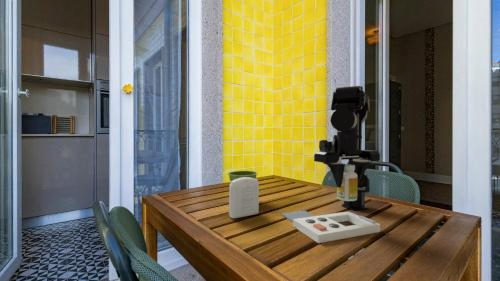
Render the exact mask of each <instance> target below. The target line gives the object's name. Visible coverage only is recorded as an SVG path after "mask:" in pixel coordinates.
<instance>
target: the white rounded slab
mask: <svg viewBox="0 0 500 281" xmlns="http://www.w3.org/2000/svg"><path fill="white" fill-rule="evenodd" d="M259 184H260V183H259V180H258V179H257V178H256V179H254V178H250V177H242V178H238V179H235V180H233V181H230V182H229V185H228V192H229V194H228V216H229V218H231V219H238V218H244V217H248V216H253V215H258V214H259V211H260V210H259V209H260V208H259V207H260V205H259V203H260V202H259V198H260V197H259V196H260V195H259V193H260V192H259V190H260V186H259Z"/></svg>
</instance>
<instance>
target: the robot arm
mask: <svg viewBox="0 0 500 281" xmlns="http://www.w3.org/2000/svg"><path fill="white" fill-rule="evenodd" d="M363 87H364V86H362V85H354V86H342V87H341V86H340V87H336V88H335V91H333V93H332V98H331V107H330V111H332V112H333V111H334V112H333V113H332V114H331V116H330V124H331V126H332V128H333V129H335V131H336V134H334V135H333V138H332V141H328V140H327V139H321V140H319V142H318V144H319V145H318V148H319V150H317V151H316V152H315V153H314V155H313V162H317V163H322V164H323V165H326V166H327V167H328V168H329V170H330V172H331V174H332V176H333V179H334V182H335V185H336V188H337V187H339V188H340V187H341V184H342V180H343V174H344V168H345V164H351V165H355V170H354V172H355V173H356V174H357V177H358V184H357V200H356V201H343V203H341V206H342V207H344V208H347V209H350V210H353V211H361V210H367V209H368V208H369V206H366V205H365V201H366V200H365V198H366V197H365V195H366V194H367V193H370V190H371V189H370V187H371V186H370V184H371V183H370V178H369V176H368V175H367V173H366V171H367V169H368V168H369V166H370V165H372V164H373V162H377V161H378V162H379V161H381V153H380V152H379V151H378V150H373V149H372V150H371V149H370V150H369V149H363V148H362V147H363V146H362V142H363V124H364V122H365V121H366V120H367V118H368V113H370V96H369V95H368V94H367V93H366V92H365V91H364V88H363ZM342 160H344V161H345V160H348V162H347V163H343V162H342ZM369 160H370V161H369ZM365 193H366V194H365Z"/></svg>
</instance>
